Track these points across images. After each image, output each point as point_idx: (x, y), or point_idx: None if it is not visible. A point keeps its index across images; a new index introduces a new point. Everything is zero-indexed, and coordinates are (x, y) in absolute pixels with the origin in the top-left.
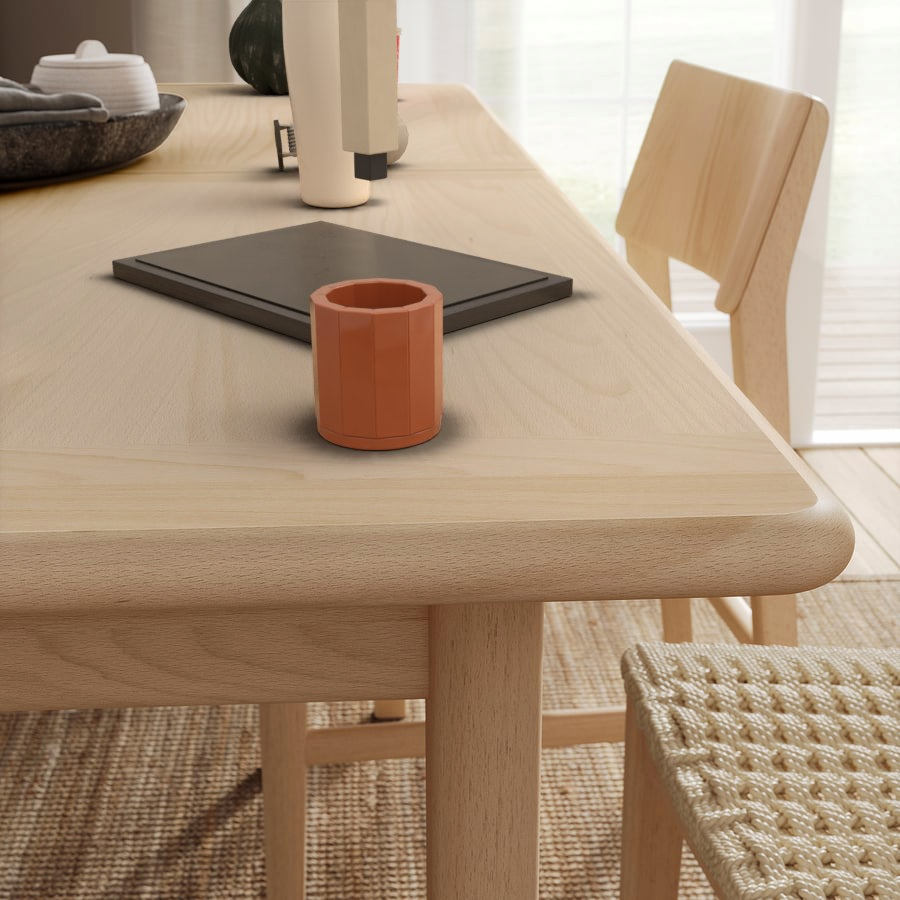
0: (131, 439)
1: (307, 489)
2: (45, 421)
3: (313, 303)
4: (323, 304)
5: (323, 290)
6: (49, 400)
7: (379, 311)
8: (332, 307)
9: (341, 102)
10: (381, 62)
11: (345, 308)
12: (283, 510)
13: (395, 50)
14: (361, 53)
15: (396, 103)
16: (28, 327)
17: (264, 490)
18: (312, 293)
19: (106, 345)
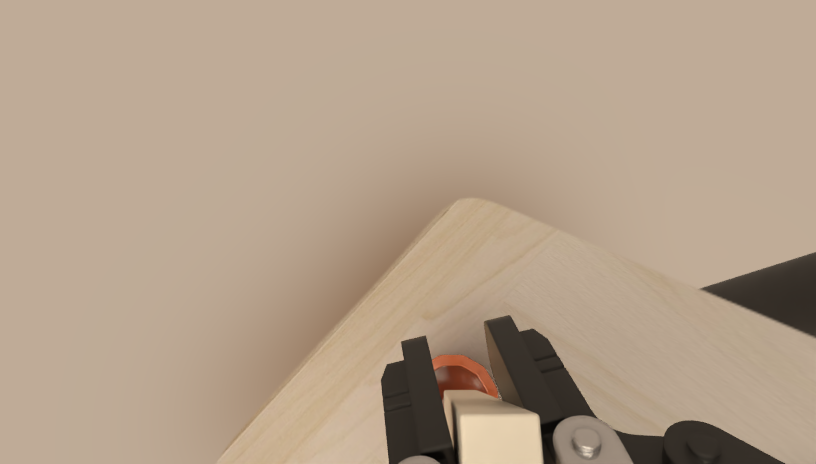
0: (529, 282)
1: (410, 310)
2: (586, 261)
3: (469, 358)
4: (457, 357)
5: (485, 380)
6: (619, 279)
7: None
8: (447, 356)
9: (479, 391)
10: (446, 413)
11: (440, 361)
12: (399, 287)
13: None
14: (453, 393)
15: None
16: (791, 343)
17: (424, 294)
18: (484, 369)
19: (710, 362)
